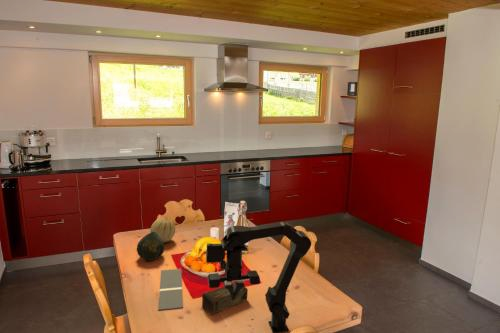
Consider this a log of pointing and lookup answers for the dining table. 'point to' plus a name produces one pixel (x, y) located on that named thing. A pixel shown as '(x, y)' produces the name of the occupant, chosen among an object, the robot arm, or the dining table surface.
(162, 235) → the cantaloupe
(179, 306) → the strip
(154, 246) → the squash
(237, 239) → the robot arm
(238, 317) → the dining table surface
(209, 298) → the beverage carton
